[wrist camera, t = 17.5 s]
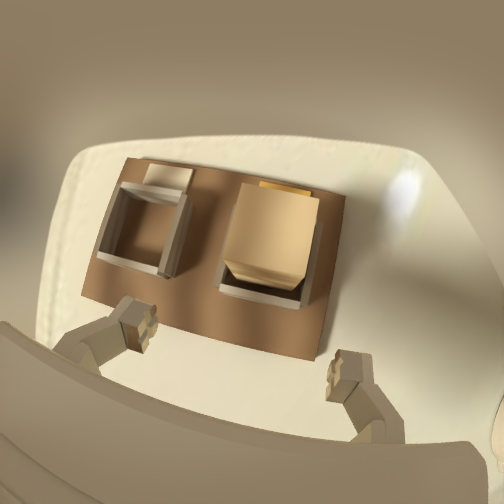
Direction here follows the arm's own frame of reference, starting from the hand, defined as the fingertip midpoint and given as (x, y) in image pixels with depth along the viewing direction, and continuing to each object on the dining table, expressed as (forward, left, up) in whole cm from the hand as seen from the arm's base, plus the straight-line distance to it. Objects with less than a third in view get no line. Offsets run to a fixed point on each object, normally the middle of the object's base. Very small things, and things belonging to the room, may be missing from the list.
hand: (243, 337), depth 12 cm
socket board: (+6, -6, -15) cm, 17 cm away
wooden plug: (0, -6, -14) cm, 15 cm away
